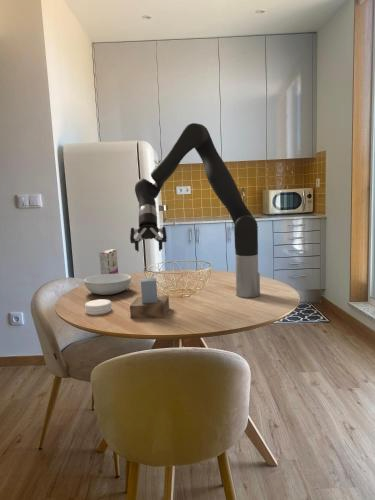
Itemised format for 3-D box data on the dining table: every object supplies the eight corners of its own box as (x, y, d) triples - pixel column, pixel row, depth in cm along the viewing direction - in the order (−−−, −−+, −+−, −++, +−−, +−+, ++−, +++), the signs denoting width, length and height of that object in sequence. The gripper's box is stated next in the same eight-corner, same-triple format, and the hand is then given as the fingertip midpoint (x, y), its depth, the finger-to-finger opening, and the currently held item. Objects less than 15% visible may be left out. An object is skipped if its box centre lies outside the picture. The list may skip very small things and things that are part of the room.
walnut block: (169, 309, 149) (168, 296, 148) (163, 319, 137) (163, 305, 136) (138, 309, 150) (137, 296, 150) (130, 319, 138) (129, 305, 138)
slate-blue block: (157, 298, 146) (155, 277, 145) (157, 302, 141) (156, 280, 139) (142, 299, 145) (141, 278, 144) (142, 303, 140) (140, 281, 139)
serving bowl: (123, 299, 165) (122, 283, 164) (77, 298, 169) (75, 283, 168) (137, 287, 185) (136, 273, 184) (96, 287, 189) (95, 273, 188)
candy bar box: (110, 280, 202) (107, 249, 200) (119, 280, 201) (116, 249, 199) (101, 285, 192) (98, 252, 189) (110, 285, 191) (108, 252, 188)
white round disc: (106, 315, 144) (105, 306, 143) (81, 315, 145) (80, 306, 145) (115, 307, 153) (115, 298, 153) (91, 307, 155) (91, 298, 154)
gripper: (129, 212, 156) (129, 244, 146) (165, 211, 157) (167, 243, 148) (130, 224, 162) (130, 256, 152) (165, 223, 163) (167, 255, 154)
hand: (148, 250), depth 150 cm, fingers open, 8 cm apart
